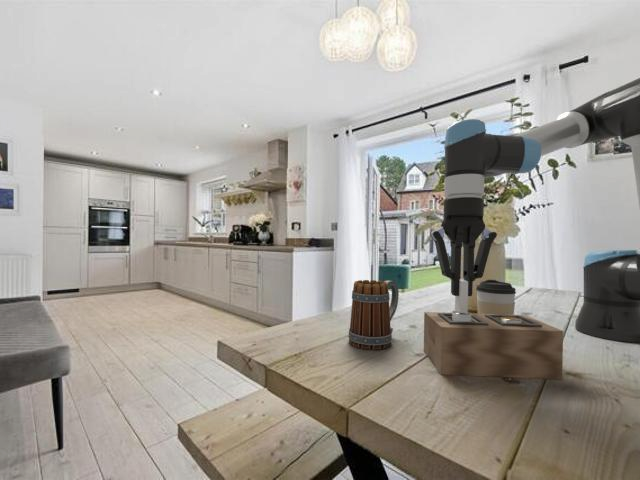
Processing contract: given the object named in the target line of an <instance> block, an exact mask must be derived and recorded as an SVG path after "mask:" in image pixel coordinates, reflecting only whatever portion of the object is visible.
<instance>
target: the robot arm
mask: <svg viewBox="0 0 640 480" xmlns="http://www.w3.org/2000/svg"><path fill="white" fill-rule="evenodd" d="M444 137H445V140H444V147H443V148H444V184H443V187H444V189H443V190H444V193H443V196H444V197H445V198H446V199H445V200H444V201H443V220H442V222H441V225H440V227H439V228H437V229H436V230H433V231H431V232H430V233H429V236H430V237H431V240H433V242H434V245H435V249H436V254H437V258H438V261H439V267H440V270H441V275H442V276H444V277H446V278H449V279H450V294H451V295H452V296H454V297H455V299H454V311H457V312H459V313H468V311H469V310H468V309H469V308H468V306H469V305H468V304H469V297H472V295H473V285H474V284H473V282H474V281H476V280H477V279H481V278H483V276H484V273H485V268H486V266H487V262H488V260H489V259H488V258H489V255H490V251H491V247H492V243H493V242H494V241H495V240H496V238H497V237H498V236H497V235H498V233H497V232H496V231H491V230H490V229H488V228H486V223H485V221H484V213H485V212H484V211H485V205H484V204H485V203H484V202H485V201H484V200H485V199H483V198H482V197H483V196H484V195H485V180H486V179H490V178H493V177H496V176H501V175H505V174H513V175H517V174H518V175H519V174H528V173H529V172H531V171H533V170H535V168H536V167H537V166H538V164H539V163H540V160H541V159H542V157H543V156H545V155H548V154H551V153H553V152H555V151H559V150H562V149H563V148H565V149H574V148H578V147H580V146H582V145H586V144H590V143H595V142H599V141H600V142H601V141H604V140H611V139H613V138H617V137H620V139H621V140H620V141H621V143H623V144H626V145H627V146H629V147H630V148H631V155H632V162H633V163H632V164H633V170H634V176H635V178H634V179H635V185H636V192H637V200H638V207H639V209H640V77H638V78H636V79H634V80H631V81H630V82H628V83H626V84H624V85H621V86H619V87H617V88H614V89H612V90H609V91H606V92H604V93H603V94H600V95H599V96H598V95H597V96H596V97H595V98H593V99H590V100H589V101H587V102H585V103H583V104H580V105H579V106H578V107H576V108H573V109H571V110H569V111H567V112H564V113H561V114H560V115H559V116H558V117H557V118H556V119H555V120H553V121H551V122H550V121H549V122H548V123H545V124H543V125H540V126H539V125H538V126H535V127H534V128H531V129H529V130H526V131H523V132H520V133H517V134H515V135H503V134H502V135H501V134H492V133H487V129H486V123H485V122H484V121H483V120H481V119H475V118H473V119H471V118H470V119H463V120H459V121H455V122H453V123H452V124H450V125H448V127H447V128H446V132H445V136H444ZM445 235H446V237H447V238H448V240H449V241H450V242H449V245H450V260H449V256H448V251H447V247H446V243H445V239H444V238H445ZM479 237H480V239H481V240H480V243H479V245H478V249H477V252H476V257H475V248H476V241H477V240H478V238H479ZM462 248H463V254H462ZM462 255H463V258H462ZM462 259H463V260H462ZM583 263H584V264H583V304H582V305H581V308H580V310H579V312H578V316H577V317H576V319H575V321H574V322H575V325H574V326H575V327H574V328H575V329H576V331H578V332H581V333H583V334H586V335H589V336H593V337H596V338H602V339H604V340H605V339H606V340H612V341H617V342H627V343H628V342H629V343H640V248H639V249H621V250H620V249H619V250H617V249H616V250H604V251H603V250H602V251H594V252H593V251H592V252H589V253H587V254H586V255H585V256H584V262H583ZM462 264H463V266H462ZM461 271H462V273H461ZM461 274H462V276H461ZM461 278H463V279H461Z"/></svg>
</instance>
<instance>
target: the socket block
mask: <svg viewBox="0 0 640 480" xmlns="http://www.w3.org/2000/svg"><path fill="white" fill-rule="evenodd" d="M470 313H471V312H470ZM423 316H424V318H423V322H424V323H423V325H424V326H423V353H425V355H426V356H427V357H428V359H429V360H430V362H431V364H432V365H433V366H434V367H435V369H436V370H437V371H438V373H439V374H440V375H447V376H470V377H471V376H472V377H473V376H474V377H490V378H491V377H493V378H494V377H497V378H517V379H519V378H520V379H538V380H539V379H540V380H541V379H542V380H563V361H564V360H563V358H564V355H563V353H564V352H563V349H564V330H562V329H559V328H557V327H554V326H552V325H549V324H547V323H545V322H543V321H540V320H537V319H535V318H533V317H531V316H528V315H525V314H514V315H509V314H478V313H471V322H462V321H452V312H439V311H438V312H434V311H433V312H432V311H431V312H430V311H424V312H423ZM501 317H515V318H519V319H521V320H522V323H504V322H502V321H501Z"/></svg>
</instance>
